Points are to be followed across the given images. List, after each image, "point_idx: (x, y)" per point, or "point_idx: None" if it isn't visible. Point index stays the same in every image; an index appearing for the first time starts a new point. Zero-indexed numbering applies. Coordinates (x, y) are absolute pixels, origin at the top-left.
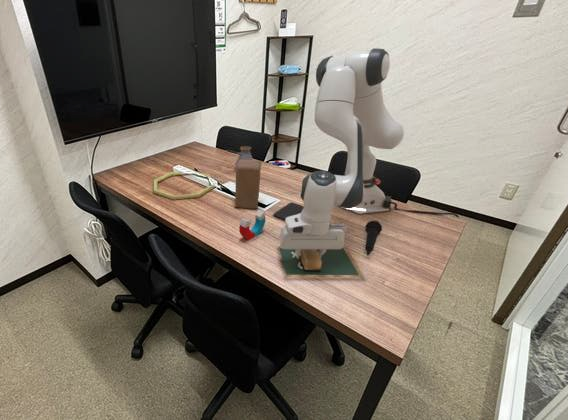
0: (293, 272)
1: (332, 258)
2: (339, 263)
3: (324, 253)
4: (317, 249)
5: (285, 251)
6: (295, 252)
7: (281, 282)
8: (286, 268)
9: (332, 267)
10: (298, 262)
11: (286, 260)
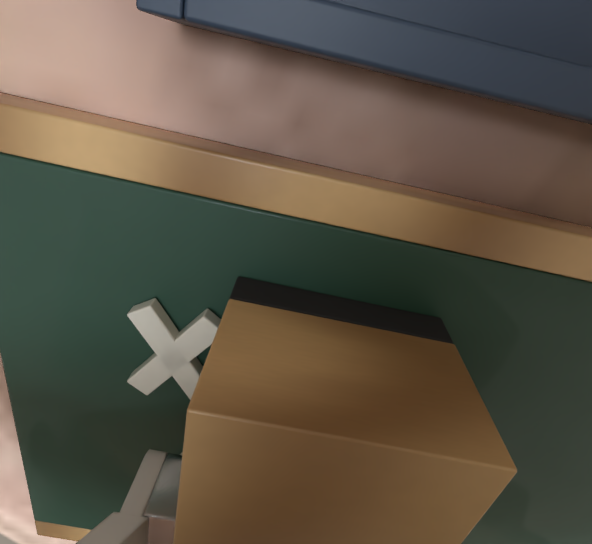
0: (100, 518)
1: (582, 468)
2: (580, 523)
3: (573, 393)
4: (554, 310)
5: (61, 253)
6: (191, 326)
7: (14, 520)
8: (43, 478)
9: (471, 541)
10: (182, 445)
11: (55, 399)
